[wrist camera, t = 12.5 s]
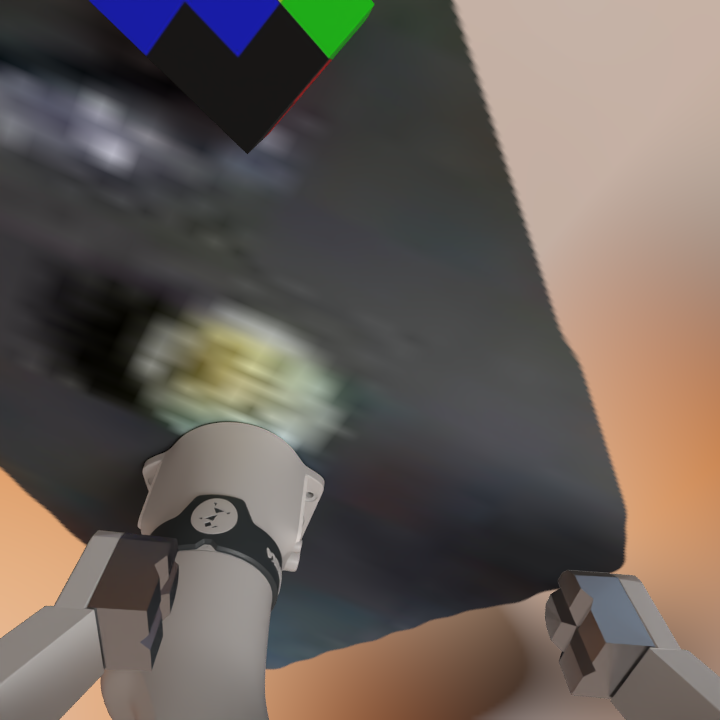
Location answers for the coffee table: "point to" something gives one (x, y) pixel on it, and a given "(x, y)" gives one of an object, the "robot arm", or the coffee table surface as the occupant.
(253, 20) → the puzzle toy
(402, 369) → the coffee table surface
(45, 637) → the robot arm
